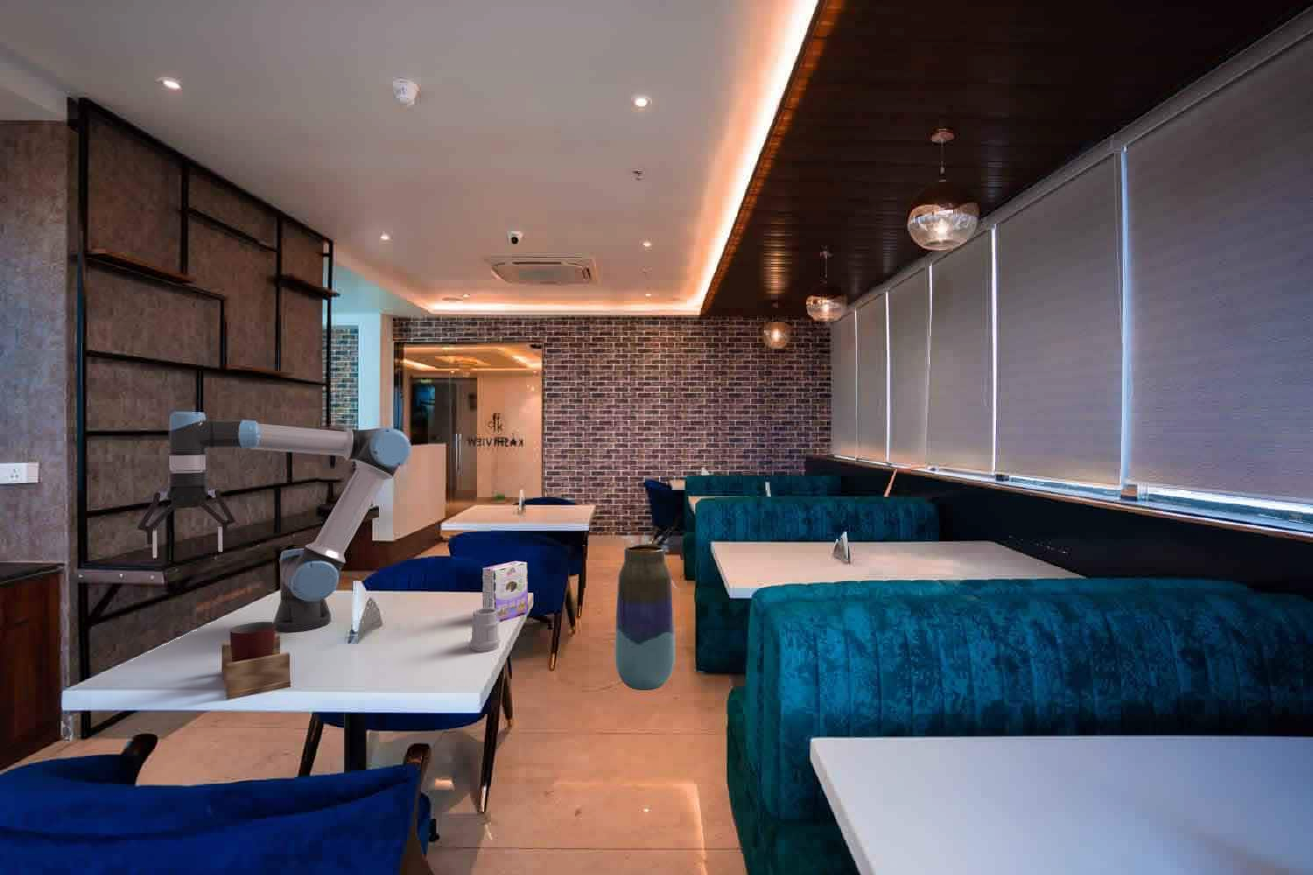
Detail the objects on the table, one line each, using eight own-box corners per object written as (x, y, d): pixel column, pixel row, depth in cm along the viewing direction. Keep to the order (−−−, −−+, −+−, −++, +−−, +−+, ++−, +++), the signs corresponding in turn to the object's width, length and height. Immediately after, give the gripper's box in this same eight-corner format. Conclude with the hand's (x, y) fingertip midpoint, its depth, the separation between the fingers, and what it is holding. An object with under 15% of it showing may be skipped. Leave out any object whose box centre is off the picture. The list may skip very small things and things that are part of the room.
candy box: (516, 610, 208) (515, 560, 208) (528, 613, 205) (528, 562, 204) (481, 620, 197) (481, 567, 197) (494, 623, 193) (494, 569, 193)
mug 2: (466, 652, 168) (466, 606, 168) (480, 637, 180) (480, 595, 180) (494, 652, 168) (494, 607, 168) (507, 638, 180) (507, 595, 180)
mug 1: (251, 663, 156) (250, 618, 156) (288, 662, 157) (288, 617, 157) (221, 682, 144) (221, 633, 144) (262, 681, 145) (262, 632, 145)
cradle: (278, 661, 162) (278, 633, 162) (290, 686, 146) (290, 655, 146) (221, 672, 154) (221, 642, 154) (227, 699, 138) (227, 666, 138)
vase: (602, 683, 147) (601, 547, 147) (647, 668, 157) (646, 540, 156) (642, 701, 137) (641, 556, 137) (687, 684, 146) (687, 548, 146)
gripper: (243, 469, 175) (244, 546, 175) (125, 472, 160) (126, 557, 160) (246, 470, 169) (247, 550, 169) (124, 474, 154) (124, 562, 154)
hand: (188, 554), depth 165 cm, fingers open, 13 cm apart
